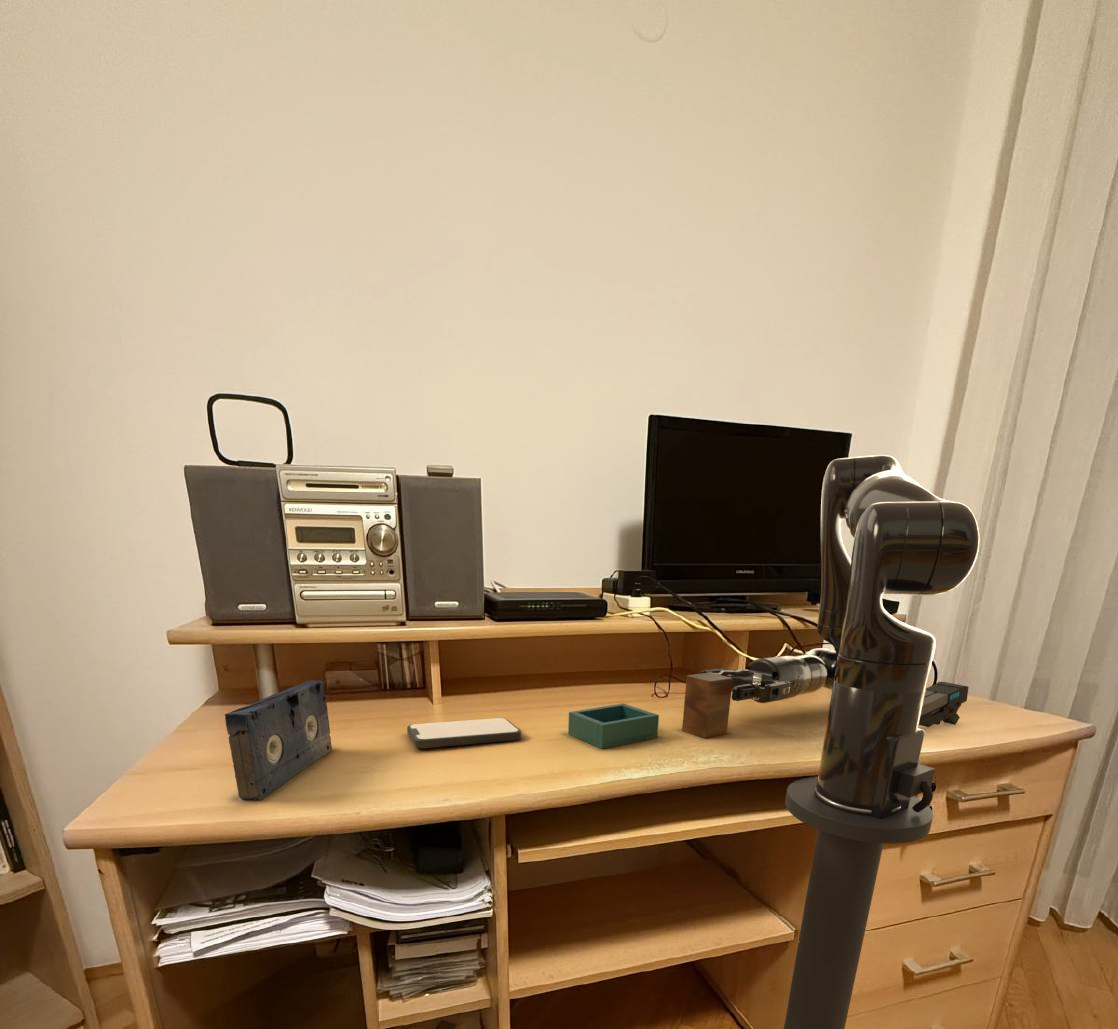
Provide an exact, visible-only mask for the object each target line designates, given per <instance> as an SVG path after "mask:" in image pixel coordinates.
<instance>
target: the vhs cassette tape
mask: <svg viewBox="0 0 1118 1029" xmlns="http://www.w3.org/2000/svg"><path fill="white" fill-rule="evenodd" d="M328 712H329V711H328V704H327V691H326V686H325V683H324V680H313V679H312V680H306V681H304V682H302V683H298V684H296V685H294V686H291V687H288V688H287V689H284V690H282V691H279V692H276V693H273V694H271V695H269V696H267V697H265V698H262V699H259V700H257V701H255V702H252V703H251V704H249V705H246V706H243V707H240V708H239V707H238V708H237V709H235V710H232V711H229V712H227V713H224V716H225V717H224V720H225V726H226V732H227V734H228V735H229V736H228V743H229V750H230V754H231V760H232V764H233V765H232V766H233V771H234V777H235V778H234V779H235V782H236V788H237V794H238V797H239V798H240V799H242V800H255V801H256V800H258V801H261V800H264V798H266V797H267V796H268V795H269V794H271V793H273V792H274V791H275V790H277V789H278V788H280V787H281V786H283V785H285V784H286V783H288V781H290V780H292V778H294V777H295V776H297V775H298V774H300V773H301V772H302V771H304V770H306V769H307V768H309V767H310V766H311V765H312V764H314V763H316V762H317V761H318V760H320V759H321V758H322V757H324V756H326V755H327V754H328V753H329V752H331V751H332V750H333V744H332V737H331V735H330V734H331V728H330V721H329V720H330V718H329V713H328Z"/></svg>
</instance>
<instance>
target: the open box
mask: <svg viewBox="0 0 1118 1029" xmlns="http://www.w3.org/2000/svg"><path fill="white" fill-rule="evenodd" d="M659 722H660V715H659V714H657V713H654V712H651V711H648V710H645V709H642V708H639V707H637V706H632V705H629V704H626V703H616V704H612V705H604V706H599V707H593V708H585V709H580V710H574V711H569V712H568V724H567V725H568V731H567V734H568V735H569V736H571V737H574V738H576V739H578V740H580V741H582V742H585V743H587V744H590V745H592V746H594V747H597V748H598V749H601V750H604V749H608V748H613V747H617V746H622V745H627V744H632V743H636V742H637V743H638V742H642V741H646V740H651V739H656V738H658V736H659Z"/></svg>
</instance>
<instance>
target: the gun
mask: <svg viewBox="0 0 1118 1029" xmlns="http://www.w3.org/2000/svg"><path fill="white" fill-rule="evenodd" d="M969 687H970V686H967V685H962V684H957V683H951V682H946V681H937V682H936V683H935V684H932V685H930V686H927V687H926V691H925V696H924V701H923V706H922V710H921V715H920V720H919V724H918V727H919V726H922V727H926V728H931V727H932V726H934V725H937V726H939V725H940V724H941V723H942V722H943V723H946V724H950V725H954V726H956V725H957V723H958V722H959V720H960V719H961V717H960V715H959V714H958V710H959V709H960V708H961V706H962V704H964V703H966V702H967V701H968V695H969Z"/></svg>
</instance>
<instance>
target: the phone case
mask: <svg viewBox="0 0 1118 1029" xmlns="http://www.w3.org/2000/svg"><path fill="white" fill-rule="evenodd" d="M406 732H407V736H408V737H409V739H410V741H411V742H412V744H413V745H414V747H415V748H417V749H432V748H433V749H434V748H444V747H445V748H446V747H456V746H467V745H477V744H478V745H479V744H489V743H500V742H502V743H503V742H513V741H519V740H521V739H522V730H521V729H520V728H519V727H517V726H516V725H515V724H514V723H513V722H512V721H510V720H509V719H507V718H503V717H496V718H482V719H468V720H453V721H442V722H439V721H438V722H425V723H413V724H408V725H407V727H406Z"/></svg>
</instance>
